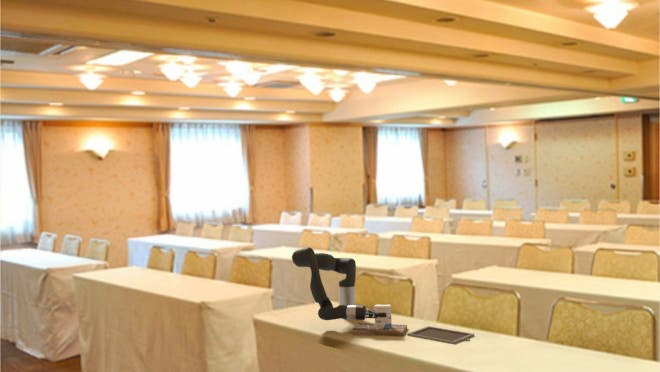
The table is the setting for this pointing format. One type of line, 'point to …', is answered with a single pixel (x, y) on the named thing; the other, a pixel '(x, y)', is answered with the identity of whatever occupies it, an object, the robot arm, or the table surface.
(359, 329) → the walnut board
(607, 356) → the table surface
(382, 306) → the ink box
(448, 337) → the grey framed brown panel
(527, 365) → the table surface
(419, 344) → the table surface
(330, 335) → the table surface
